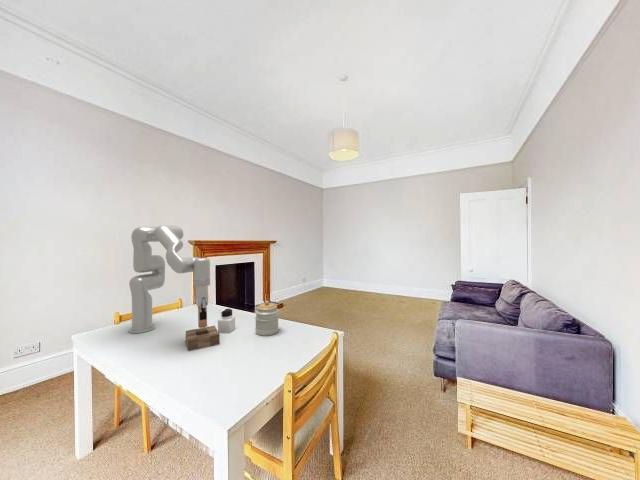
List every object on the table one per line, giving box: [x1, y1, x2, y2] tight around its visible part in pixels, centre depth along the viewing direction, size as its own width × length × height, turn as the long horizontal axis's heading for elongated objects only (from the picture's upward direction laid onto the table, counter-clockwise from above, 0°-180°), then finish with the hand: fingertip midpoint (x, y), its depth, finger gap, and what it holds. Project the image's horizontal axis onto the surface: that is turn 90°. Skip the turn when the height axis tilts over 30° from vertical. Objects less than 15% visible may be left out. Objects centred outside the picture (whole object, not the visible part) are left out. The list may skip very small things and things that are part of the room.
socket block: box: [185, 325, 221, 352], centre depth 126 cm, size 14×14×5 cm
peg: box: [197, 305, 208, 329], centre depth 126 cm, size 4×4×12 cm
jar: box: [254, 300, 280, 337], centre depth 140 cm, size 13×13×18 cm
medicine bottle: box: [217, 308, 236, 334], centre depth 142 cm, size 7×7×12 cm
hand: (202, 317), depth 126 cm, fingers closed on peg, 4 cm apart
